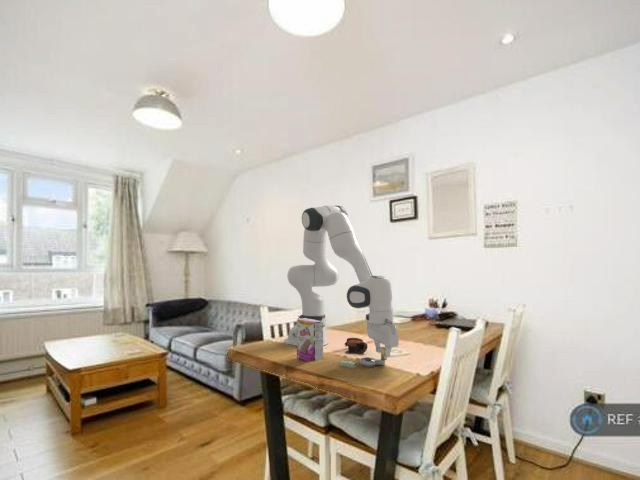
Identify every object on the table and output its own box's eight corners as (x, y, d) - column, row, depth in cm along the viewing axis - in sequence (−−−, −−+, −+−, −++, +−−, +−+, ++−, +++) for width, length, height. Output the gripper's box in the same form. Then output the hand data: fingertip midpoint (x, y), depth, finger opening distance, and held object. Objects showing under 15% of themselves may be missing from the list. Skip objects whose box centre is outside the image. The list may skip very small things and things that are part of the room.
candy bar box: (296, 359, 135) (296, 319, 137) (305, 356, 139) (305, 317, 140) (314, 364, 127) (314, 322, 129) (323, 362, 131) (323, 320, 132)
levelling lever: (362, 367, 119) (361, 350, 119) (359, 362, 125) (358, 346, 125) (389, 366, 120) (388, 349, 120) (384, 361, 126) (384, 345, 126)
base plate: (331, 370, 120) (331, 361, 120) (353, 358, 136) (352, 349, 136) (388, 381, 109) (388, 370, 109) (405, 366, 125) (404, 357, 125)
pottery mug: (338, 356, 140) (340, 337, 145) (352, 362, 146) (353, 344, 150) (361, 354, 133) (362, 334, 138) (374, 360, 138) (375, 341, 143)
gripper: (402, 321, 117) (404, 360, 116) (377, 313, 137) (379, 347, 135) (386, 322, 115) (387, 362, 114) (363, 314, 135) (365, 349, 134)
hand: (382, 354), depth 125 cm, fingers open, 6 cm apart
